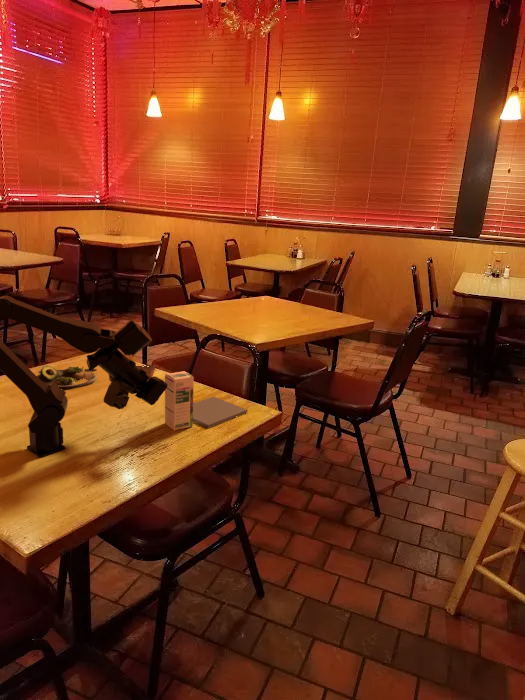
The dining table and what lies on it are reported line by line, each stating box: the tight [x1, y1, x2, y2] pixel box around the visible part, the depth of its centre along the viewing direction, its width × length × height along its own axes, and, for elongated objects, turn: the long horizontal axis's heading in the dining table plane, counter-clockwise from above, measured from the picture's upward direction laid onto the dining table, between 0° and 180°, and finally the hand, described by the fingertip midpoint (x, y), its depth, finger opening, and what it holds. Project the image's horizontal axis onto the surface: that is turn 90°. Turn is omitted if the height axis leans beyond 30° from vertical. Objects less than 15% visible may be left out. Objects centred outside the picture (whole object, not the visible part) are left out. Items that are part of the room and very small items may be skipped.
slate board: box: [193, 395, 248, 429], centre depth 148 cm, size 16×14×1 cm
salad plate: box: [36, 365, 98, 390], centre depth 167 cm, size 19×18×5 cm
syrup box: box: [164, 370, 195, 432], centre depth 137 cm, size 6×6×14 cm
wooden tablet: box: [137, 364, 156, 377], centre depth 174 cm, size 26×2×10 cm
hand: (157, 399), depth 131 cm, fingers closed
